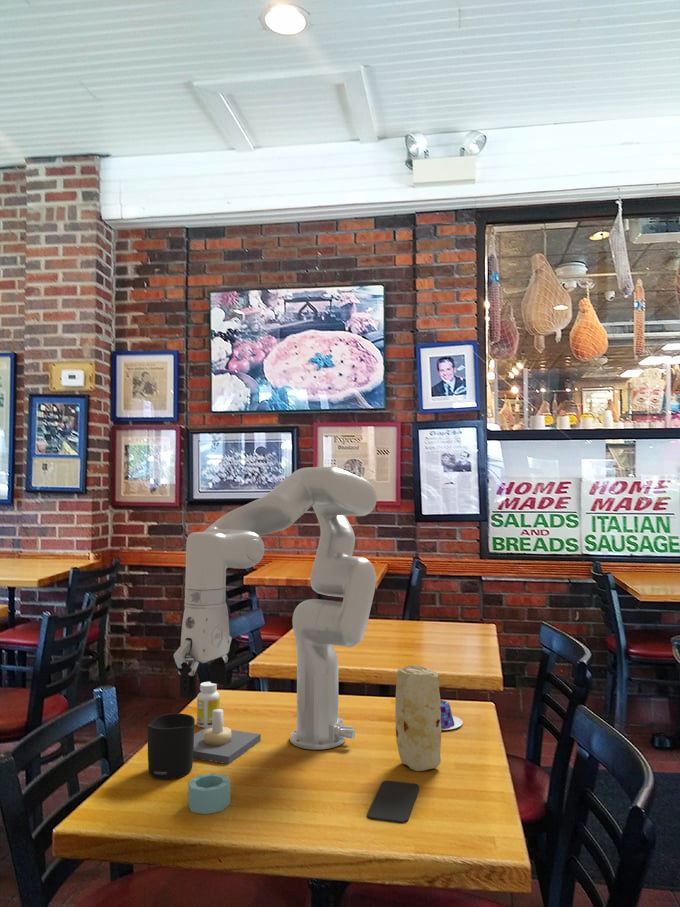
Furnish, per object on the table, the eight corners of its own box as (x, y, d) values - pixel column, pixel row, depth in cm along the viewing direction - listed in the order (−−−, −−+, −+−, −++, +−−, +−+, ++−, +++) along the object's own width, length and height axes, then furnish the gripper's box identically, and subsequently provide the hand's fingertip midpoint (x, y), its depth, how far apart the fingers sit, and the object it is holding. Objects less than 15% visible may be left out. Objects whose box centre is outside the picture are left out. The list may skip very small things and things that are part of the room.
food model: (445, 764, 139) (444, 666, 140) (436, 776, 133) (435, 674, 134) (400, 756, 143) (400, 661, 144) (389, 768, 137) (389, 668, 138)
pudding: (409, 730, 159) (409, 708, 160) (416, 714, 171) (416, 693, 171) (460, 735, 157) (460, 712, 157) (464, 718, 168) (464, 696, 168)
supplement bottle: (222, 721, 165) (222, 680, 166) (215, 728, 160) (216, 687, 161) (200, 720, 166) (201, 680, 167) (193, 728, 161) (194, 686, 161)
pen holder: (138, 770, 136) (139, 720, 137) (181, 758, 142) (181, 710, 143) (158, 785, 129) (159, 732, 130) (202, 772, 135) (203, 721, 136)
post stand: (260, 740, 152) (260, 704, 153) (228, 764, 139) (229, 724, 140) (207, 733, 157) (207, 698, 158) (172, 754, 144) (172, 716, 145)
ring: (235, 799, 123) (236, 776, 123) (215, 816, 117) (215, 792, 117) (203, 793, 126) (203, 771, 126) (181, 809, 119) (181, 786, 119)
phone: (364, 816, 116) (382, 779, 130) (364, 821, 116) (382, 784, 130) (407, 821, 114) (420, 783, 128) (407, 826, 114) (420, 788, 128)
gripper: (195, 605, 117) (193, 705, 116) (246, 593, 133) (244, 681, 132) (160, 602, 120) (157, 700, 119) (214, 590, 136) (212, 677, 135)
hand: (203, 690), depth 125 cm, fingers open, 9 cm apart
